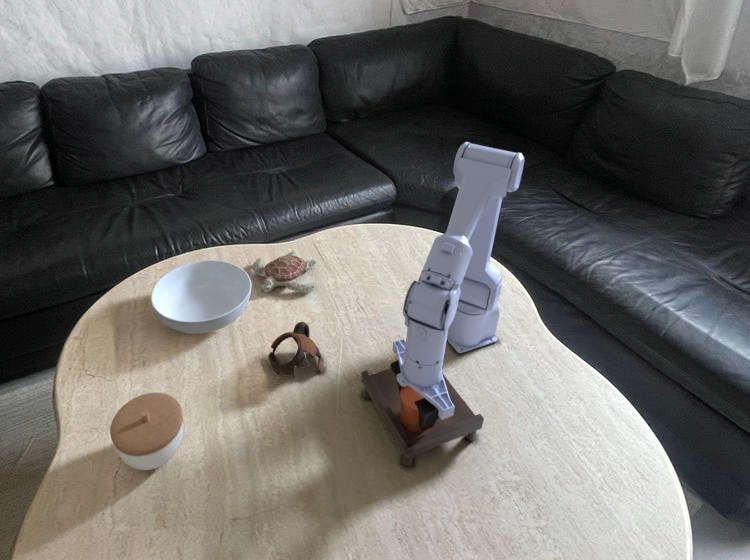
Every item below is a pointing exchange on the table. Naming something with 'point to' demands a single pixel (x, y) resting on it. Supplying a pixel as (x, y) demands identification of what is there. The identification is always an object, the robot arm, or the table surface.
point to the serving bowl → (201, 296)
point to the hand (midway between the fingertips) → (416, 412)
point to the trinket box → (148, 430)
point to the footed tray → (412, 443)
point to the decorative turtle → (285, 273)
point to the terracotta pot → (409, 409)
